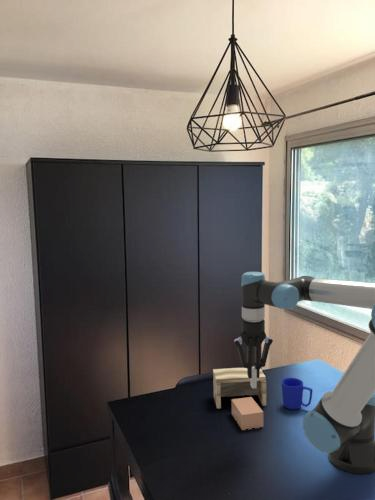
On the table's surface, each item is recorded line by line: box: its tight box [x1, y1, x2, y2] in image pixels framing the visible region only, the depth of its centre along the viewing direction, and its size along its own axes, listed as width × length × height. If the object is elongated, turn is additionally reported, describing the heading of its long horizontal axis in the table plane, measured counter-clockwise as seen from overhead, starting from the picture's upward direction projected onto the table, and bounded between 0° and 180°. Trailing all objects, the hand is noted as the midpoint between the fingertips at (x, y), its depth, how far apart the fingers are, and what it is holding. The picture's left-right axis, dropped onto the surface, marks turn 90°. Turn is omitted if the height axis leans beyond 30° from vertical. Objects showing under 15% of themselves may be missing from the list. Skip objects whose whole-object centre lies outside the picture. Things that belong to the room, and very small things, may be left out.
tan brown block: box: [230, 396, 264, 431], centre depth 161 cm, size 12×8×6 cm, turn 12°
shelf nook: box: [212, 367, 267, 409], centre depth 176 cm, size 11×20×12 cm, turn 94°
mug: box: [280, 377, 313, 410], centre depth 169 cm, size 8×12×10 cm
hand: (253, 386), depth 147 cm, fingers closed
